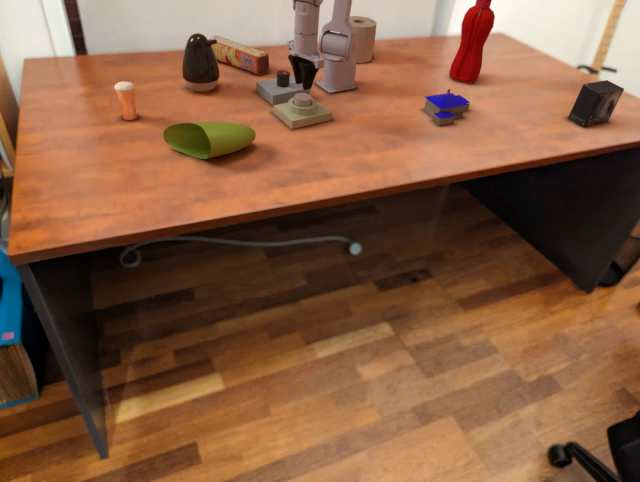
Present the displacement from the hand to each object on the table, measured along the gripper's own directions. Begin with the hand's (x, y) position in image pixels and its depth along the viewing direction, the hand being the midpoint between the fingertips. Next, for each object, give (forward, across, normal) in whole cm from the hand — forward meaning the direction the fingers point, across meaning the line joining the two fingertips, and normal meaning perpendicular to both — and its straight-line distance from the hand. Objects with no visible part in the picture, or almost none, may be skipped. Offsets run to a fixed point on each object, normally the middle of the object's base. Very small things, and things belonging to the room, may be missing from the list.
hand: (303, 86), depth 127 cm
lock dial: (+5, -14, +2) cm, 15 cm away
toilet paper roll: (+9, -31, +40) cm, 51 cm away
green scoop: (+9, +7, -28) cm, 30 cm away
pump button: (+5, 0, 0) cm, 5 cm away
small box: (+9, +37, +75) cm, 84 cm away
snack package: (+9, -39, 0) cm, 40 cm away
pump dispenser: (+9, -27, -17) cm, 33 cm away
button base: (+8, 0, 0) cm, 8 cm away
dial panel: (+8, -14, +2) cm, 16 cm away
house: (+9, +15, +38) cm, 42 cm away
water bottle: (+9, -1, +62) cm, 63 cm away
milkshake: (+9, -18, -40) cm, 45 cm away
